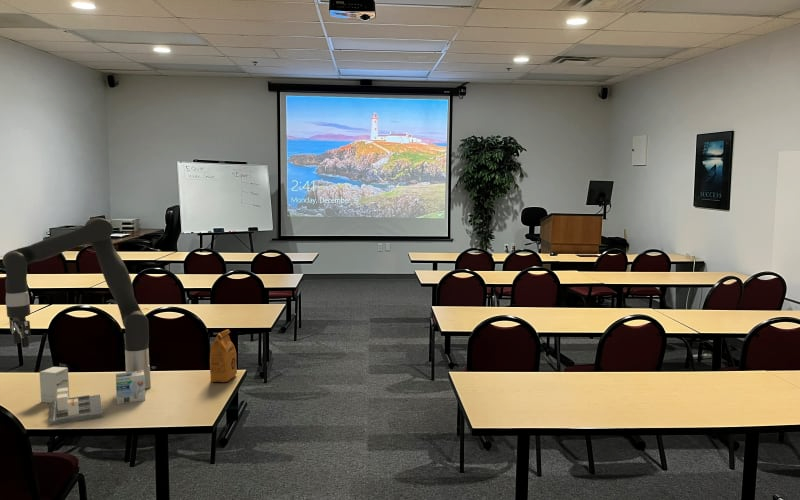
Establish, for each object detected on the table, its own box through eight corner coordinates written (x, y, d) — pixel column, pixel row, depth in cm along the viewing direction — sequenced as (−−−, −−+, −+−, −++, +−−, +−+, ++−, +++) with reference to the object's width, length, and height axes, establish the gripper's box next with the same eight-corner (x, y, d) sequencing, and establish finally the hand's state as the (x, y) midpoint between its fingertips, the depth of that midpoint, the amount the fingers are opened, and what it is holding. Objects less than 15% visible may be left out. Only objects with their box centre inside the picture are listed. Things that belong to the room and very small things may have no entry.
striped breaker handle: (78, 410, 224) (78, 397, 223) (78, 414, 220) (78, 401, 220) (68, 412, 222) (67, 399, 222) (68, 416, 219) (67, 403, 218)
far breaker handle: (68, 399, 235) (67, 387, 235) (68, 402, 232) (67, 390, 231) (58, 400, 234) (57, 388, 233) (58, 404, 230) (57, 391, 230)
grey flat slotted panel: (100, 398, 242) (99, 393, 242) (102, 416, 223) (102, 411, 223) (52, 405, 234) (51, 400, 234) (50, 425, 215) (49, 420, 215)
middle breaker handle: (68, 405, 229) (67, 393, 228) (68, 409, 225) (67, 396, 225) (57, 407, 227) (57, 394, 226) (57, 410, 224) (56, 398, 223)
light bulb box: (116, 404, 236) (115, 378, 234) (116, 399, 241) (115, 373, 240) (146, 400, 240) (144, 374, 239) (144, 394, 246) (143, 369, 245)
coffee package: (240, 375, 272) (239, 328, 269) (227, 384, 260) (226, 335, 257) (220, 373, 274) (219, 327, 271) (206, 382, 262) (205, 334, 259)
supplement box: (56, 403, 236) (54, 373, 234) (40, 402, 237) (38, 371, 236) (70, 397, 243) (68, 367, 242) (54, 395, 245) (52, 366, 243)
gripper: (36, 304, 223) (39, 346, 225) (22, 299, 232) (25, 339, 234) (13, 308, 217) (17, 350, 219) (0, 302, 226) (3, 344, 228)
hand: (21, 345), depth 226 cm, fingers open, 8 cm apart
